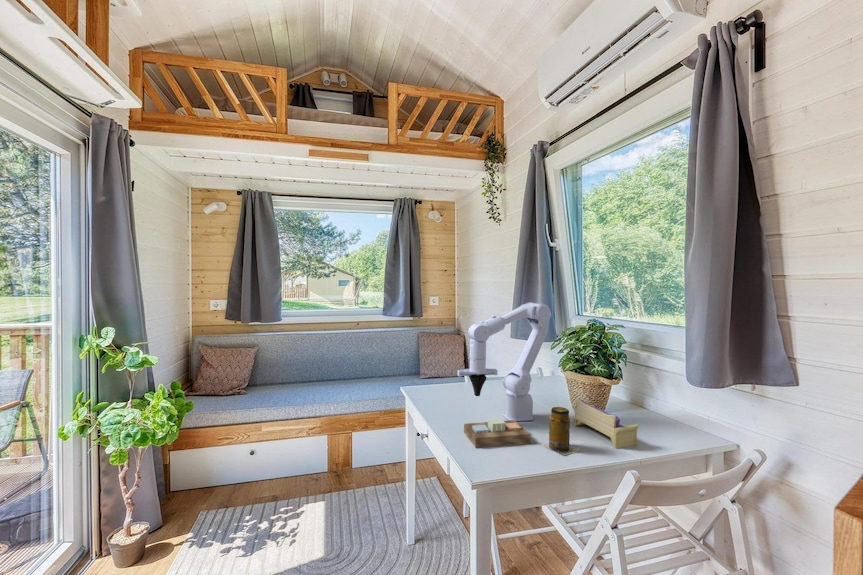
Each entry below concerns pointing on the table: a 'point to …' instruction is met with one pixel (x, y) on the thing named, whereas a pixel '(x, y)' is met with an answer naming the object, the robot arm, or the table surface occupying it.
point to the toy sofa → (605, 424)
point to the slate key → (480, 429)
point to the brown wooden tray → (497, 436)
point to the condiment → (560, 431)
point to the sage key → (496, 425)
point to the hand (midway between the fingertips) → (477, 395)
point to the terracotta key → (512, 426)
